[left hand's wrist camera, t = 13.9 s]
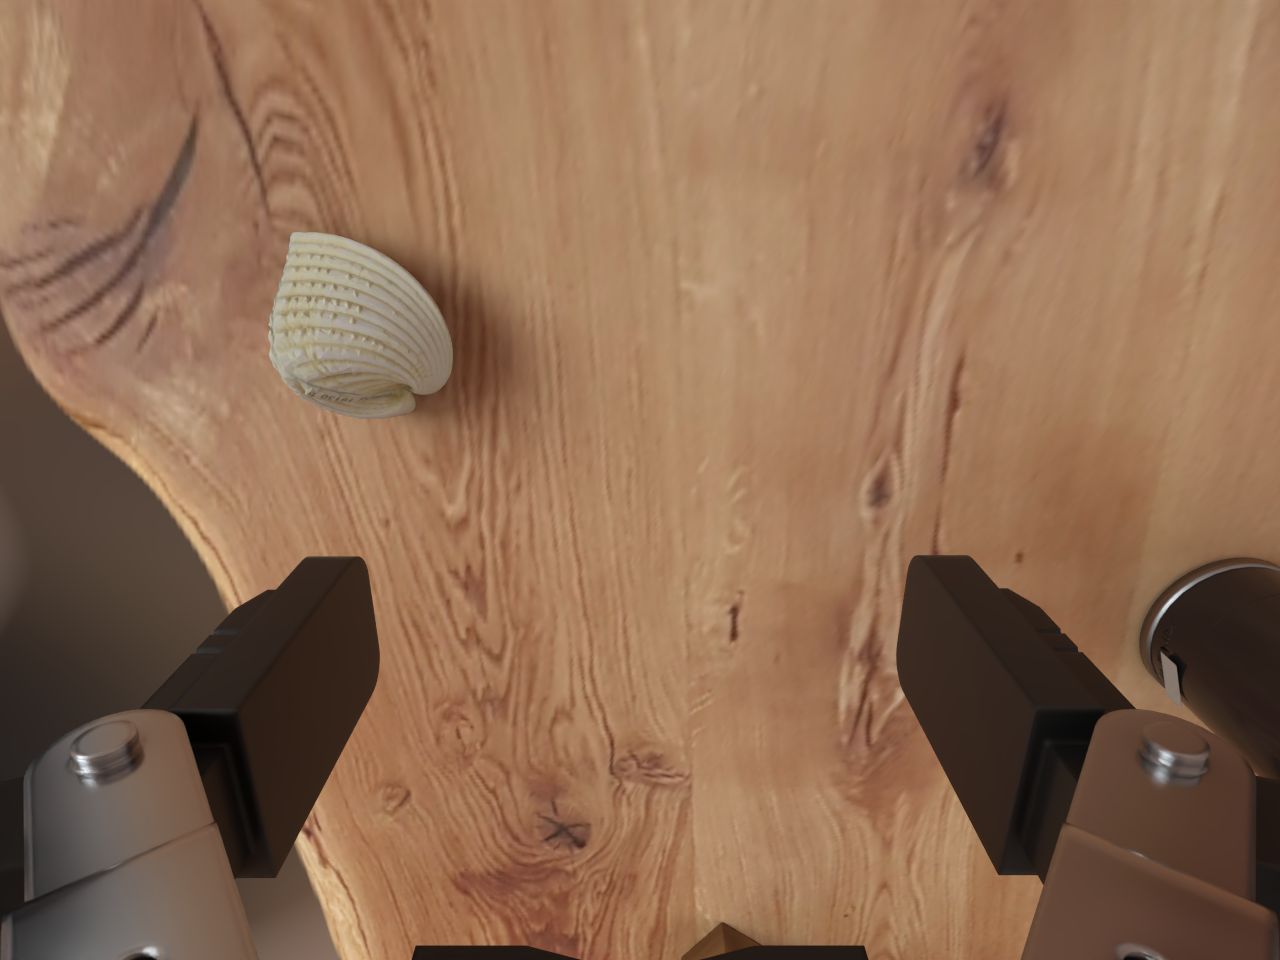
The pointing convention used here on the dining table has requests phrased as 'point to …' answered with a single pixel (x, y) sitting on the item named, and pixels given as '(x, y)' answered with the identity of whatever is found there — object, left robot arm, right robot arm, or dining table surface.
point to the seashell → (356, 329)
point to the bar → (719, 943)
